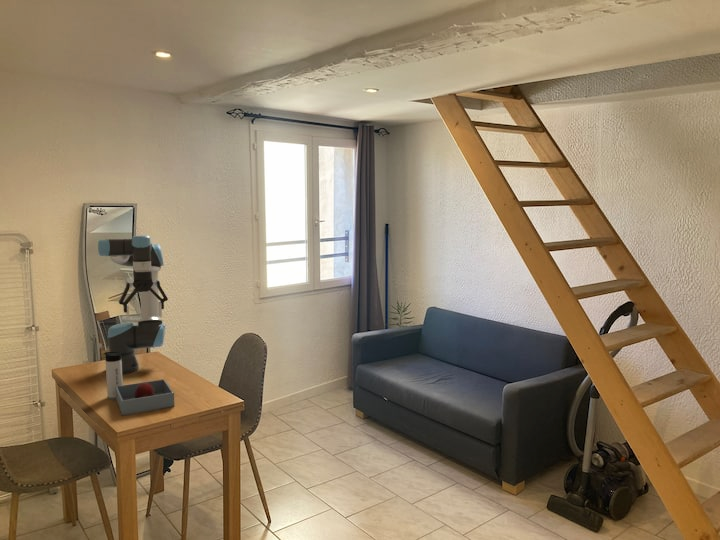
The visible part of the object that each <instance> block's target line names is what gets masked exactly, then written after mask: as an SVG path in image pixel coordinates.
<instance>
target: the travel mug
mask: <svg viewBox="0 0 720 540" xmlns="http://www.w3.org/2000/svg"><path fill="white" fill-rule="evenodd" d="M104 355H105V375H106V393H107V395H106V396H107V397H106V398H107V399H108V400H112V401H113V400H116V387H115V386H122V385H123V384H124V383H123V380H124V379H123V374H122V361H121V353H119V352H109V351H105V352H104Z"/></svg>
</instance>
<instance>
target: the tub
mask: <svg viewBox="0 0 720 540" xmlns="http://www.w3.org/2000/svg"><path fill="white" fill-rule="evenodd" d="M143 383H148V384H150V385H151V386H152V387H153V390H154V396H148V397H142V398H135V391H136V389H137V388H138V386H139V385H141V384H143ZM115 387H116V399H115V401H116V403H117V406H118V409H119V412H120V413H121V416H122V417H123V416H129V415H135V414H141V413H145V412H146V413H147V412H152V411H158V410H162V409H163V410H164V409H169V408H175V392H174V390H173V389H172V388H171V386H170V385H169V384H168V383H167V381H166V379H164V378H163V379H157V380H151V381H150V380H148V381H143V382H135V383H130V384H129V383H128V384H124V385H122V386H115Z"/></svg>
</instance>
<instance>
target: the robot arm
mask: <svg viewBox="0 0 720 540" xmlns="http://www.w3.org/2000/svg"><path fill="white" fill-rule="evenodd" d="M97 251H98V255H99V256H101V257H109V258H110V260H111V261H112V262H114V264H117V265H120V266H124V267H132V270H133V273H132V274H133V282H125V288H124V290H123V292H122V294H121V296H120V299H119V300H118V304H119V305H122V307H123V313H126V320H127V321H130V306H129V303H130V301H132V299H133V298H134V296H136V294H137V293H140V319H139V320H138V321H137V324H136V325H134V323H133V322H131V321H130V322H122V323H117V324H114V325H111V326H110V327H109V328H108V331H107V334H108V335H107V339H108V352H119V353H121V361H122V375H124V374H129V373H130V374H131V373H133V372H135V371H138V370H139V369H140V367H139V366H140V365H139V362H138V359H137V355H136V354H135V350H137V349H149V348H150V349H151V348H153V349H155V348H160V347H163V345H164V342H165V335H166V324H165V323H163V320H162V318H163V313H162V312H163V311H162V310H164V309H165V302H166V301H169V298H168V297H167V295H166V293H165V291H164V290H163V288H162V286H161V283H160V281H159V272H160V271H161V268H162V266H164V259H163V254H162V247H161V245H160V244H158V243H152V242H151V237H150V236H149V235H144V234H143V235H133V236H132V237H131V238H121V239H118V238H115V239H113V238H110V239H109V238H106V239H99V240H98V242H97ZM132 286H133V287H134V289H133V290H132V291H131V293H130V294H129V295H128V293H129V291H130V288H132ZM159 293H160V294H161V296H160V295H159ZM127 295H128V296H127ZM162 297H163V298H162Z"/></svg>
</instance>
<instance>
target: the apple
mask: <svg viewBox="0 0 720 540" xmlns="http://www.w3.org/2000/svg"><path fill="white" fill-rule="evenodd" d="M148 396H154V390H153V387H152V386H151V385H150V384H148V383H143V384H141V385H139V386H138V388H137V389H136V391H135V398H142V397H148Z"/></svg>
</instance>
